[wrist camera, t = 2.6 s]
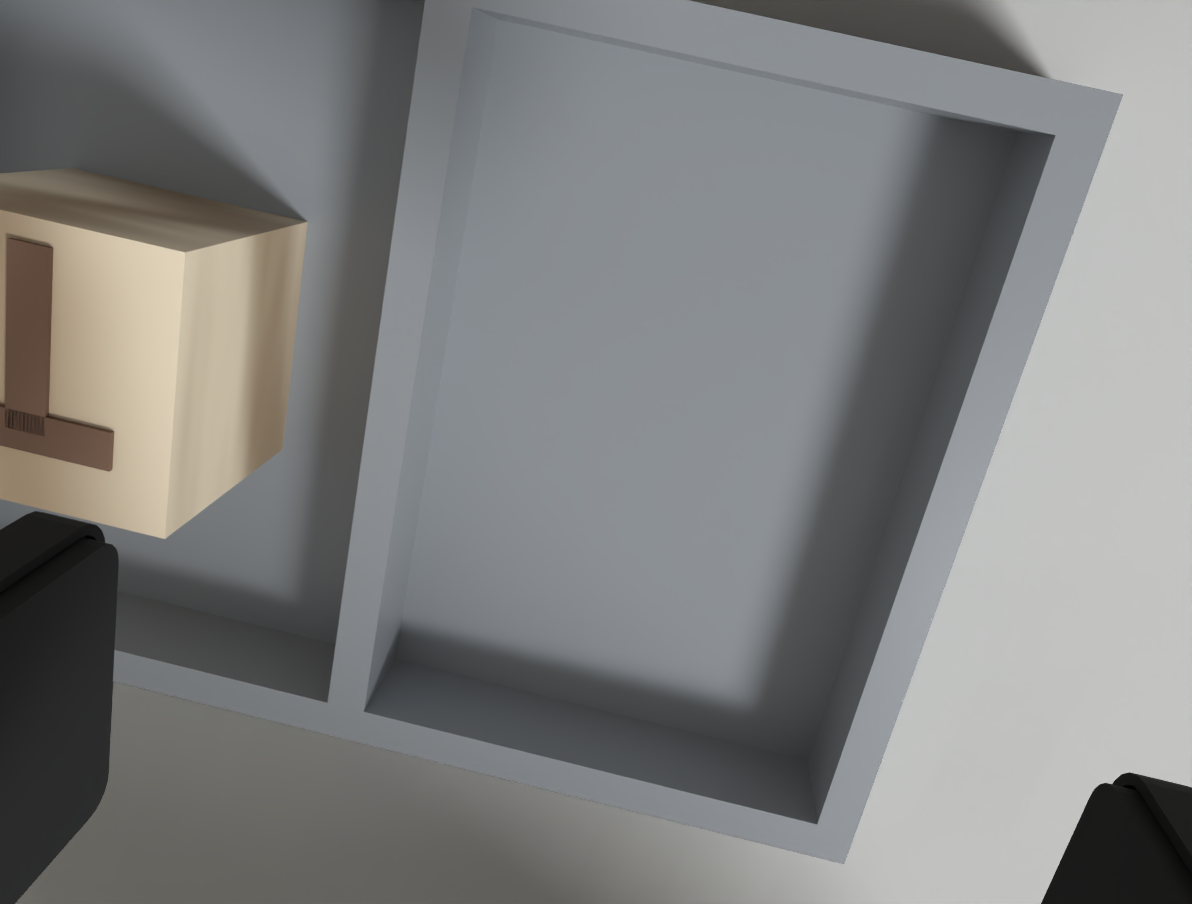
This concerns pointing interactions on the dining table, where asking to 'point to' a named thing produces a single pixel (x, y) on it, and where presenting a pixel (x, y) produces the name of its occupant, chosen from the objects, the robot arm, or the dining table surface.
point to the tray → (583, 373)
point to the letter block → (139, 346)
